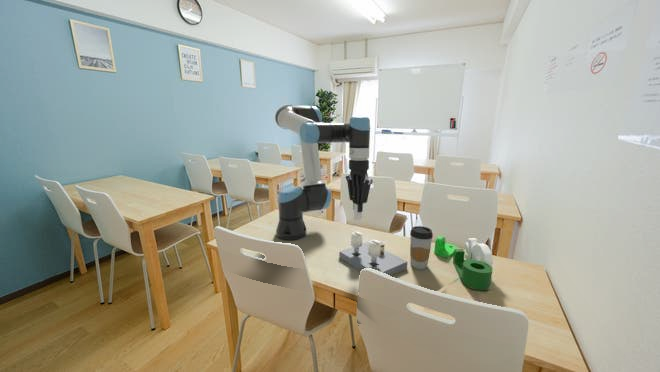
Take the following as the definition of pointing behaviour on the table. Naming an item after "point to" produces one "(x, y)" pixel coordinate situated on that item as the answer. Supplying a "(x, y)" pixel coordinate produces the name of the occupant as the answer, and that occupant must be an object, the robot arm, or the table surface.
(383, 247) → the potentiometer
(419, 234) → the coffee cup
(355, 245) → the knob
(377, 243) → the knob
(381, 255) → the plate
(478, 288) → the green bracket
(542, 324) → the table surface
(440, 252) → the mechanical part
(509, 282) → the table surface
